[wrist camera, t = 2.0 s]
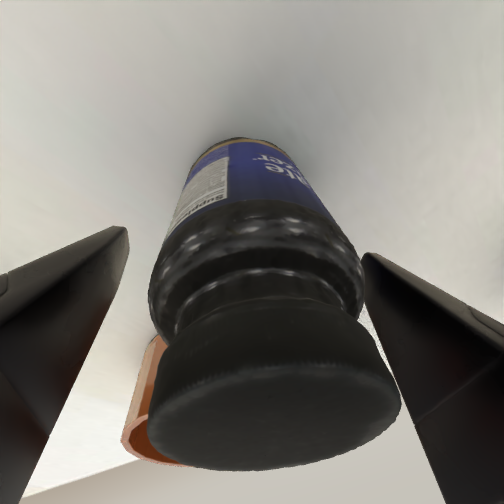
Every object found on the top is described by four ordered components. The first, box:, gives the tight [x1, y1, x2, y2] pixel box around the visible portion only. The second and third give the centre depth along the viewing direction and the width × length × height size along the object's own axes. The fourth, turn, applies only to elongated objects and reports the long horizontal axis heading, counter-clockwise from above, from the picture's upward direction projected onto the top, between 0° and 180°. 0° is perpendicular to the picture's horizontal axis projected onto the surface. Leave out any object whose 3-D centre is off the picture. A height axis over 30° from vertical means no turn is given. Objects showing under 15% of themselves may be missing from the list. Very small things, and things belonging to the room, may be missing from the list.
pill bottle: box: [147, 137, 402, 471], centre depth 9 cm, size 6×6×11 cm
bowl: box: [120, 335, 193, 467], centre depth 20 cm, size 12×12×6 cm
